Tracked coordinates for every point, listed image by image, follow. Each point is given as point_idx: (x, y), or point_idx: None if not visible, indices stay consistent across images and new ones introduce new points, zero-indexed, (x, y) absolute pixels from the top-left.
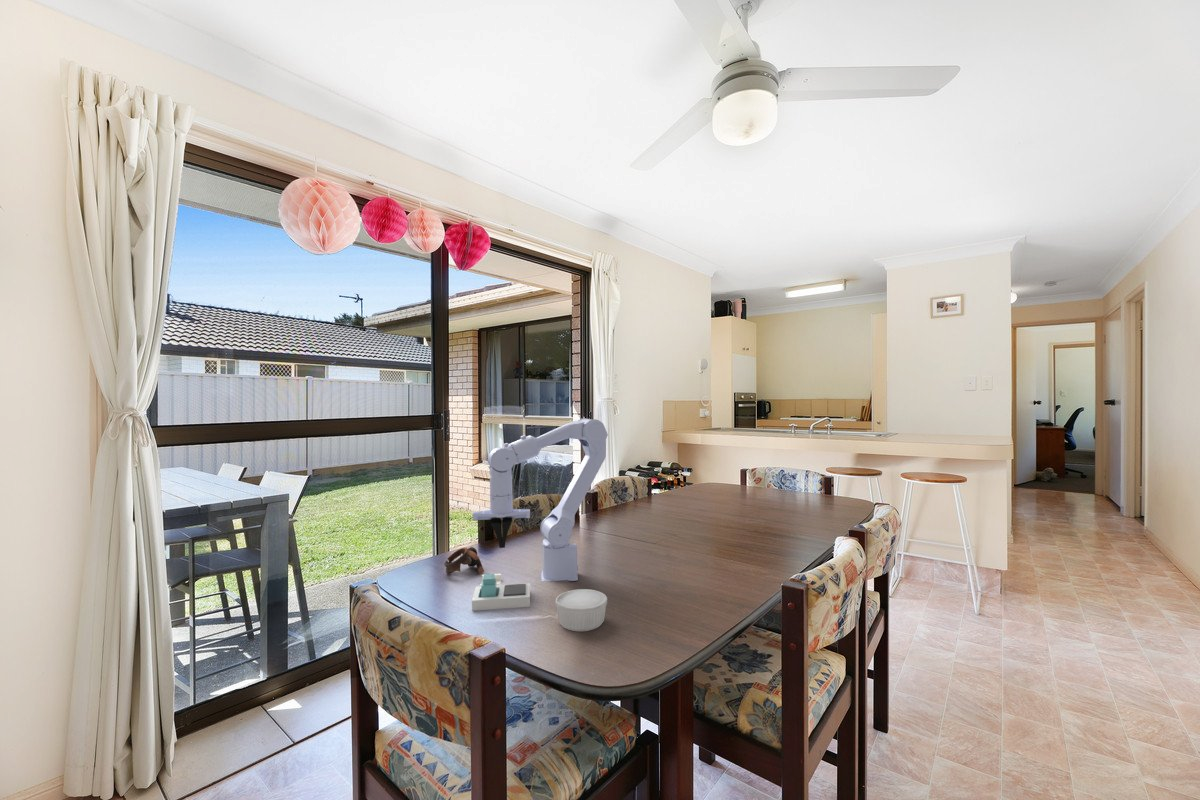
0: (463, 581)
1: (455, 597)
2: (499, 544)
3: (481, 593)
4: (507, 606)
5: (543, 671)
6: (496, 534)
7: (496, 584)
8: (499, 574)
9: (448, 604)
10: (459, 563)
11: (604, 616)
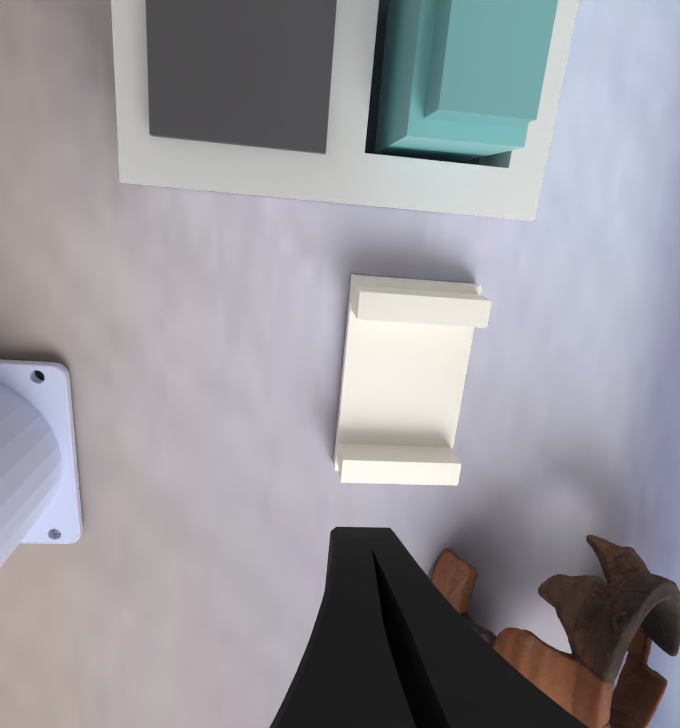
0: (542, 494)
1: (612, 263)
2: (400, 548)
3: None
4: None
5: None
6: (490, 648)
7: (396, 135)
8: (350, 468)
9: (665, 157)
10: (618, 583)
11: None
